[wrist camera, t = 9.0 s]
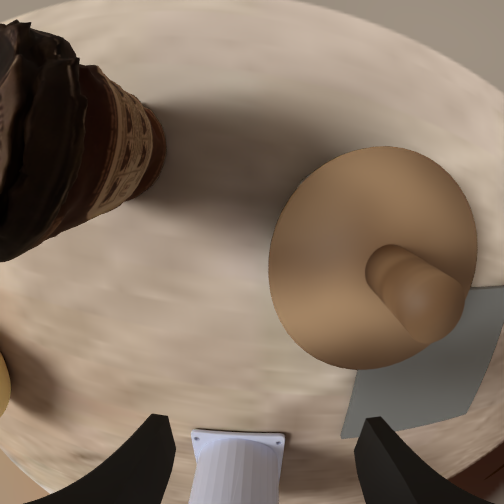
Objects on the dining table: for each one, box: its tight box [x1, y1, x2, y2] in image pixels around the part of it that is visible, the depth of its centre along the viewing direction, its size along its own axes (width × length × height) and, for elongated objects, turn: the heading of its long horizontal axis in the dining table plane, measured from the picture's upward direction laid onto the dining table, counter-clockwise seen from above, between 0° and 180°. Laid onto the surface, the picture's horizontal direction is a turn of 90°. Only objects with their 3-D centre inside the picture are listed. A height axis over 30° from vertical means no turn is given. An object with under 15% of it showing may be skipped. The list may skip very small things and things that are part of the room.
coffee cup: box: [0, 20, 166, 262], centre depth 11 cm, size 9×8×13 cm
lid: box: [268, 146, 477, 370], centre depth 12 cm, size 12×12×6 cm
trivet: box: [341, 285, 504, 439], centre depth 20 cm, size 14×14×1 cm
